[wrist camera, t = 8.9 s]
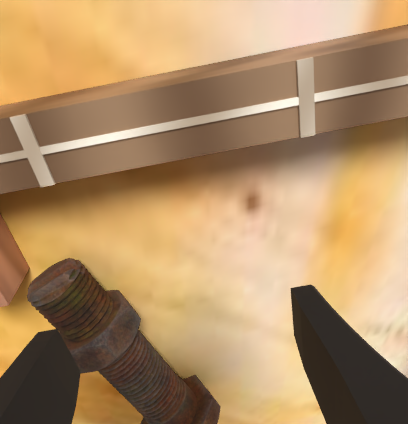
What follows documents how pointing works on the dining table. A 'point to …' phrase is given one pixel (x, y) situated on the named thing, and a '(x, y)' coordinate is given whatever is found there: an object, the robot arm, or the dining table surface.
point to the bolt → (117, 346)
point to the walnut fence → (197, 116)
